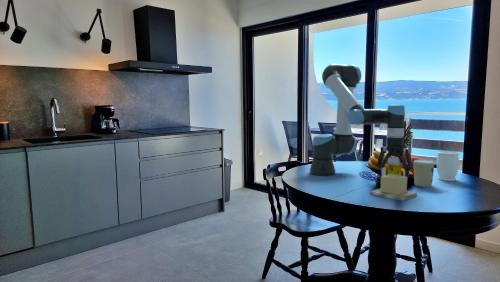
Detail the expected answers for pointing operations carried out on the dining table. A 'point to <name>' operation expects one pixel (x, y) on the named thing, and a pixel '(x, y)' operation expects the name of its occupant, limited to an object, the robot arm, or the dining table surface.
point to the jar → (447, 165)
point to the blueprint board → (392, 196)
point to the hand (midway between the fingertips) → (393, 182)
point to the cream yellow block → (393, 184)
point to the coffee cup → (423, 173)
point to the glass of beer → (394, 166)
